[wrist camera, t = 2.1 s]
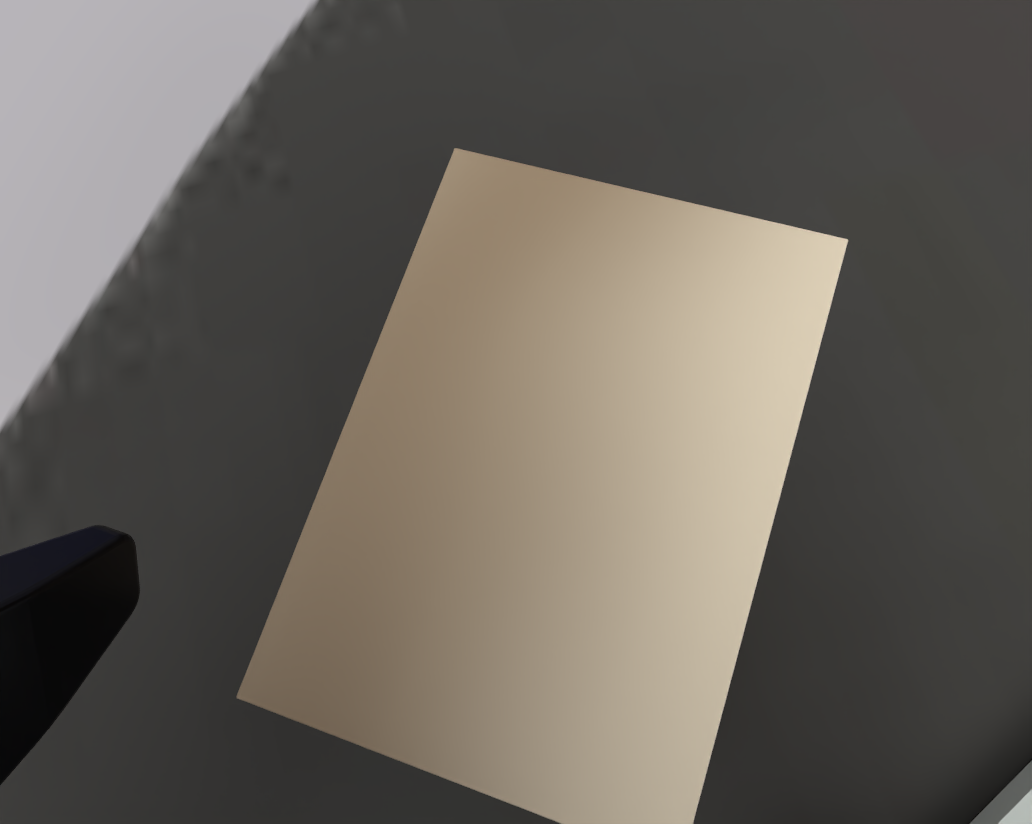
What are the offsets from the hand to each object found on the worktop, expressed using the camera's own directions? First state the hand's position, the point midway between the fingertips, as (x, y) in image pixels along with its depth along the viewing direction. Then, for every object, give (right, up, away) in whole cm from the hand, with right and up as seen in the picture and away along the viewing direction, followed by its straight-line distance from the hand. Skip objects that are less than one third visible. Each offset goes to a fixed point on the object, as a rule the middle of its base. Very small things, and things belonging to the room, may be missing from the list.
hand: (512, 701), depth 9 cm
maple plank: (+2, -1, +9) cm, 10 cm away
